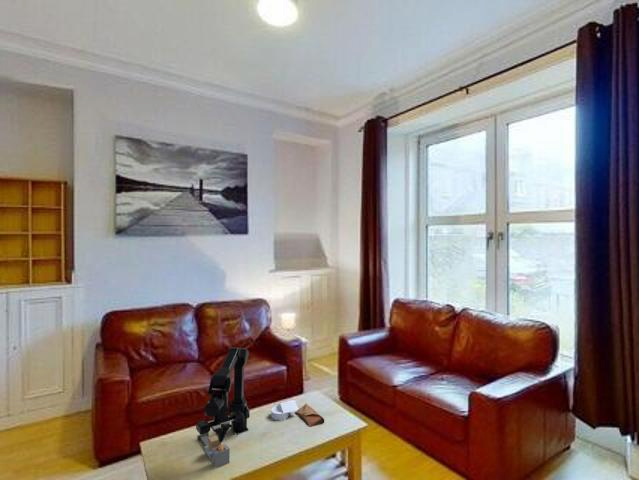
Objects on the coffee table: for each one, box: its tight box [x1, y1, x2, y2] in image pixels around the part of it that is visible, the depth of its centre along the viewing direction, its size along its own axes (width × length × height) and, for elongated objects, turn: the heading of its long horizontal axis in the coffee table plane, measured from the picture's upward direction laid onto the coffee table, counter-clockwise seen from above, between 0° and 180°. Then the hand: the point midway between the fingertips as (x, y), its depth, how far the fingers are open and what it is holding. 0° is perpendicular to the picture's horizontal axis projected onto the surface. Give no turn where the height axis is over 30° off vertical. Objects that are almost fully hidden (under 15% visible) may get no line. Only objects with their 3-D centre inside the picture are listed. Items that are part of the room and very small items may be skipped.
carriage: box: [204, 434, 222, 460], centre depth 159 cm, size 6×6×7 cm
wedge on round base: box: [270, 399, 300, 421], centre depth 194 cm, size 9×7×13 cm
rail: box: [196, 433, 210, 448], centre depth 164 cm, size 5×20×2 cm, turn 36°
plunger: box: [218, 444, 224, 452], centre depth 153 cm, size 2×2×3 cm
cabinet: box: [211, 443, 231, 469], centre depth 153 cm, size 6×4×6 cm, turn 126°
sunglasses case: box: [294, 403, 325, 428], centre depth 192 cm, size 18×7×7 cm
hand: (220, 442), depth 153 cm, fingers closed
